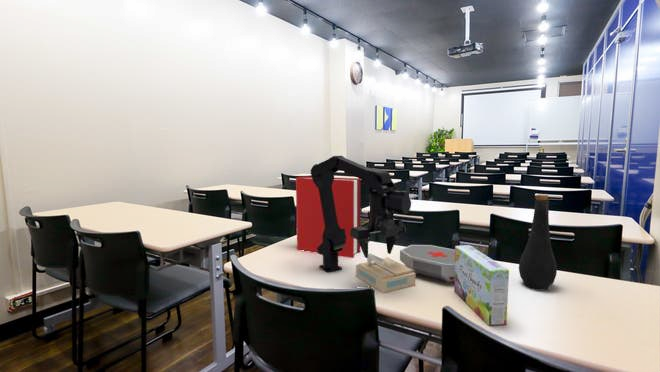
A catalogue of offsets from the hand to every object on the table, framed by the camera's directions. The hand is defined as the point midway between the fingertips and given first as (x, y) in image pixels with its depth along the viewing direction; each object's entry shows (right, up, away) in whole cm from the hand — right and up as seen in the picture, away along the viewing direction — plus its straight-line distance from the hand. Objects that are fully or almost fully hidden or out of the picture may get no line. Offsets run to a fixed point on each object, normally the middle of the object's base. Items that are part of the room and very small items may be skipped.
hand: (377, 255), depth 115 cm
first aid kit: (+22, -9, +9) cm, 26 cm away
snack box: (+26, -12, -16) cm, 33 cm away
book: (-17, -6, +36) cm, 40 cm away
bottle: (+52, -10, -2) cm, 53 cm away
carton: (+3, -9, +4) cm, 10 cm away
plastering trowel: (+4, -5, +4) cm, 7 cm away
